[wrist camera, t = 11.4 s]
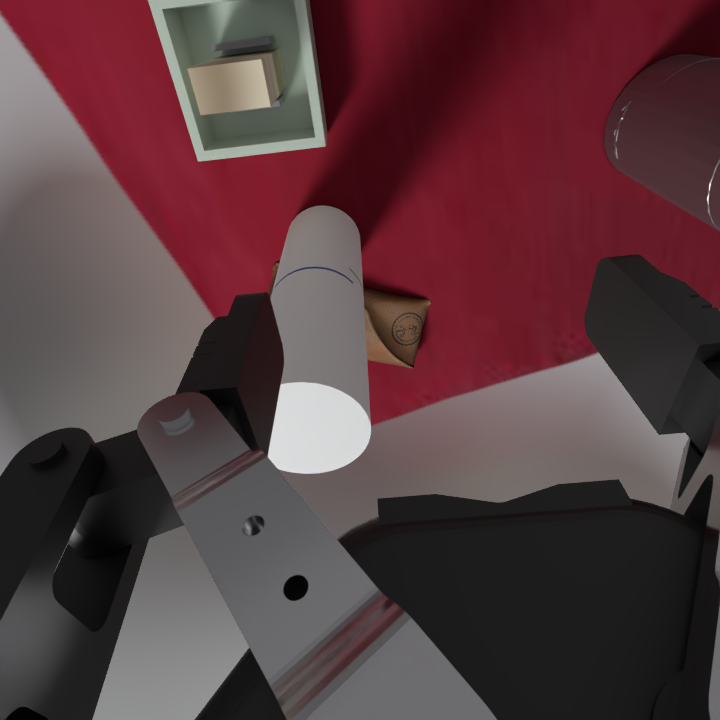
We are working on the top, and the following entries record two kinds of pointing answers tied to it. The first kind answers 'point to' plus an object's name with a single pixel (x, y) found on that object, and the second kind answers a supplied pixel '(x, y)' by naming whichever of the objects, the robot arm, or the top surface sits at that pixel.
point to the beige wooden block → (238, 82)
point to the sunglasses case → (389, 325)
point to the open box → (235, 36)
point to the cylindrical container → (321, 345)
